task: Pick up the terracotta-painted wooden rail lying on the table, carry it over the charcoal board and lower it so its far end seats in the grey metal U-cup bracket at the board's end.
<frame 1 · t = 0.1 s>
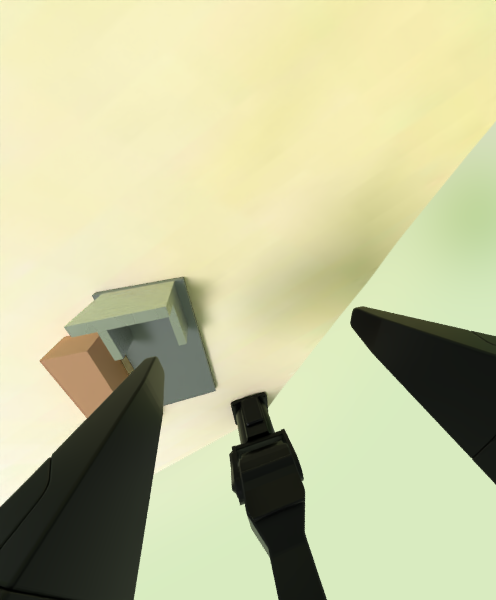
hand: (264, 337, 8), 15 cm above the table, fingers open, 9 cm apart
board: (168, 349, 24), on the table
rail: (114, 378, 25), on the table
bracket: (152, 311, 21), resting on board
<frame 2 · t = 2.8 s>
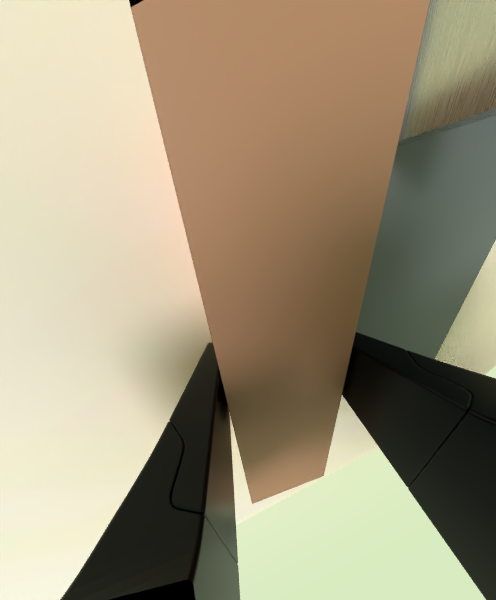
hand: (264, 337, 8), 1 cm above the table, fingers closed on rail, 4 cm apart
board: (410, 238, 9), on the table
rail: (256, 321, 9), on the table, touching gripper
bracket: (465, 52, 6), resting on board
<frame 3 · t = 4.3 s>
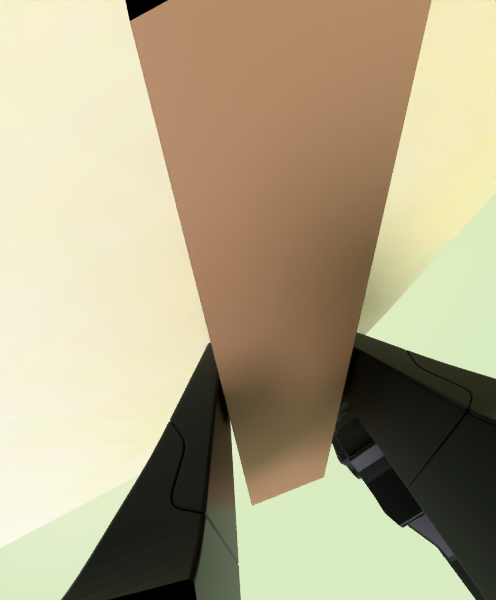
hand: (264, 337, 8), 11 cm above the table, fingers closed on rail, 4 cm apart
rail: (255, 322, 9), point 10 cm above the table, touching gripper
when the fingers open (3 cm above the table, at t = 6.0 s): rail stays where it is, resting on board.
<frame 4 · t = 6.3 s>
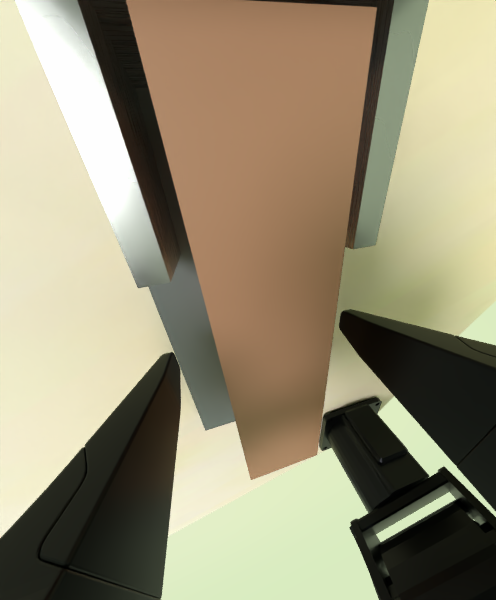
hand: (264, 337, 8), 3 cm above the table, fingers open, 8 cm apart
board: (247, 303, 11), on the table
rail: (252, 312, 10), point 1 cm above the table, touching board
bracket: (232, 181, 8), resting on board
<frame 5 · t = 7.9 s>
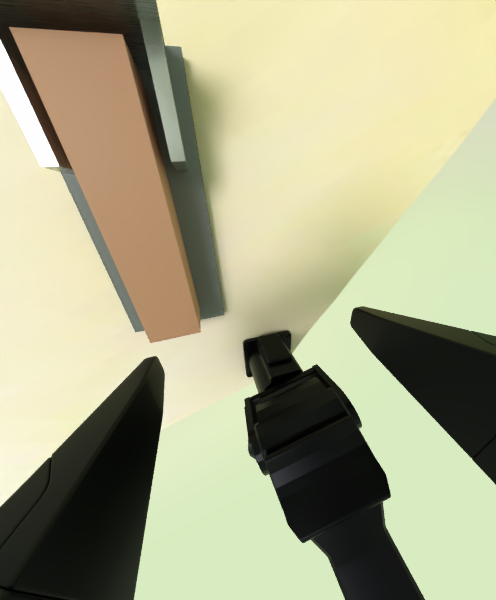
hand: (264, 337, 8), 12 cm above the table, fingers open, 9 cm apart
board: (154, 225, 15), on the table
rail: (153, 229, 15), point 1 cm above the table, touching board
bracket: (126, 130, 12), resting on board
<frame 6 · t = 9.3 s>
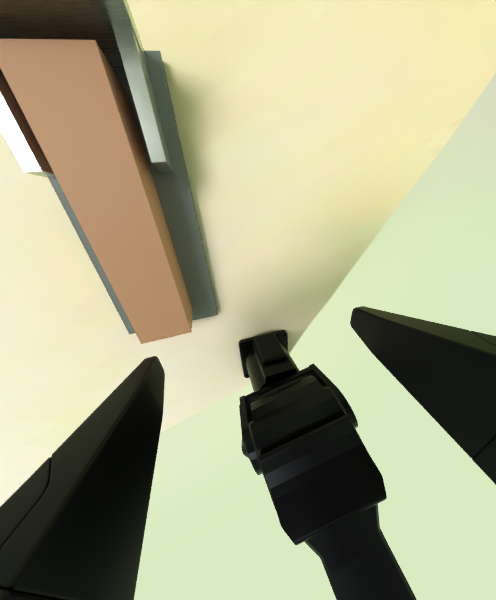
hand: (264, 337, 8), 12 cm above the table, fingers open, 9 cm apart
board: (143, 227, 15), on the table
rail: (142, 231, 15), point 1 cm above the table, touching board
bracket: (111, 135, 13), resting on board
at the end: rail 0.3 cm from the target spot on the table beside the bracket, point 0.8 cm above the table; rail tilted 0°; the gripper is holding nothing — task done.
